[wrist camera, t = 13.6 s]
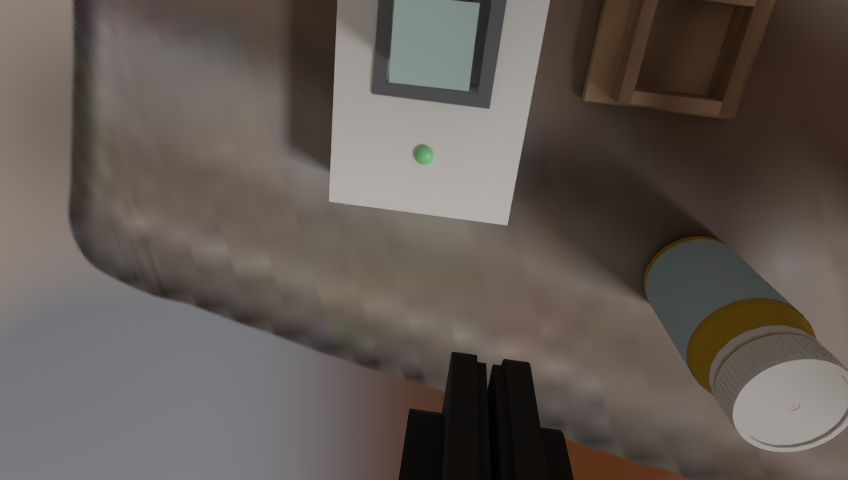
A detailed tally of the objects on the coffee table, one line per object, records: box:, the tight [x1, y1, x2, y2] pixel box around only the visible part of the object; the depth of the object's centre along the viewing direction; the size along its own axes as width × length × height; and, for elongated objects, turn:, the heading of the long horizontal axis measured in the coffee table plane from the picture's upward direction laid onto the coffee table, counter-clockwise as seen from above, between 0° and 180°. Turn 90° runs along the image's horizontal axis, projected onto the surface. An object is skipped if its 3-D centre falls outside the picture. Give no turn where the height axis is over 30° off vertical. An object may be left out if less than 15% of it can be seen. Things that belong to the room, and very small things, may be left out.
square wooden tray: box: [581, 0, 776, 120], centre depth 33 cm, size 10×8×4 cm
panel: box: [329, 0, 550, 225], centre depth 35 cm, size 12×16×5 cm
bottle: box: [643, 236, 848, 452], centre depth 35 cm, size 7×7×15 cm
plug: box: [389, 0, 480, 91], centre depth 30 cm, size 4×4×10 cm
